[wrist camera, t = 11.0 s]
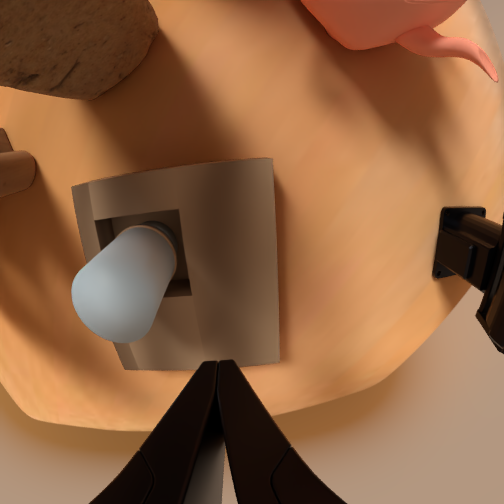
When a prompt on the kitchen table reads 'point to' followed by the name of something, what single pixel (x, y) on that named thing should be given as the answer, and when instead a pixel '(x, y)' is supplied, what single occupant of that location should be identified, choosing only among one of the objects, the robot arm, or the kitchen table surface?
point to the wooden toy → (14, 168)
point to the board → (198, 259)
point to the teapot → (397, 27)
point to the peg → (126, 282)
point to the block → (73, 44)
